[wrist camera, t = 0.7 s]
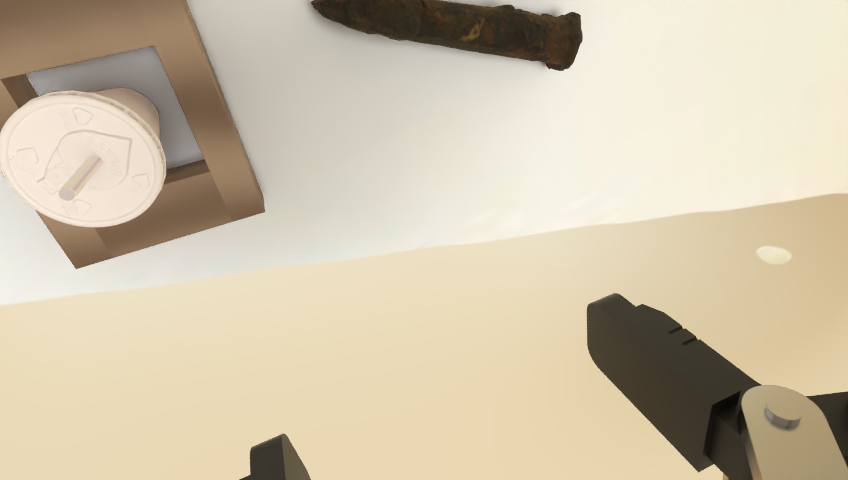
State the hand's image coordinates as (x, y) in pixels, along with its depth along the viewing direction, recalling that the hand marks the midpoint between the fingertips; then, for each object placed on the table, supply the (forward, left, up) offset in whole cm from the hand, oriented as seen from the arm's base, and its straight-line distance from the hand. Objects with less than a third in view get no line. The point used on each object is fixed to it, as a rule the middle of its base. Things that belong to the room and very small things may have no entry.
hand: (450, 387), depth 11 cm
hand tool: (-4, +11, -27) cm, 29 cm away
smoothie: (-4, -11, -26) cm, 29 cm away
